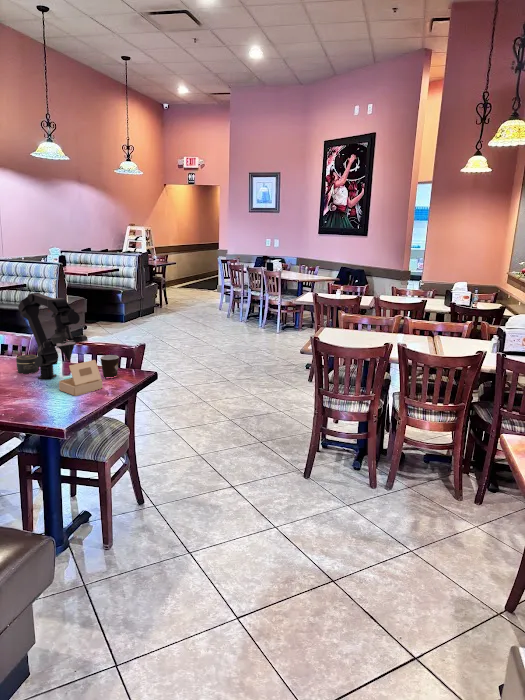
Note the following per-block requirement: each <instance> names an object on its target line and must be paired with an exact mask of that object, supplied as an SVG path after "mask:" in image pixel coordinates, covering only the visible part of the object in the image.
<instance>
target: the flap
mask: <svg viewBox="0 0 525 700" xmlns="http://www.w3.org/2000/svg"><path fill="white" fill-rule="evenodd" d="M68 368H69V370H70V374H71V378H73V380H74V383H75V385H79V384H82V383H86V382H90V381H94V380H98V379H102V376H101V373H100V370H99V367H98V364H97V361H96V359H91V360H89V361H84V362H78V363H75V364H70V365H68Z"/></svg>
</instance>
